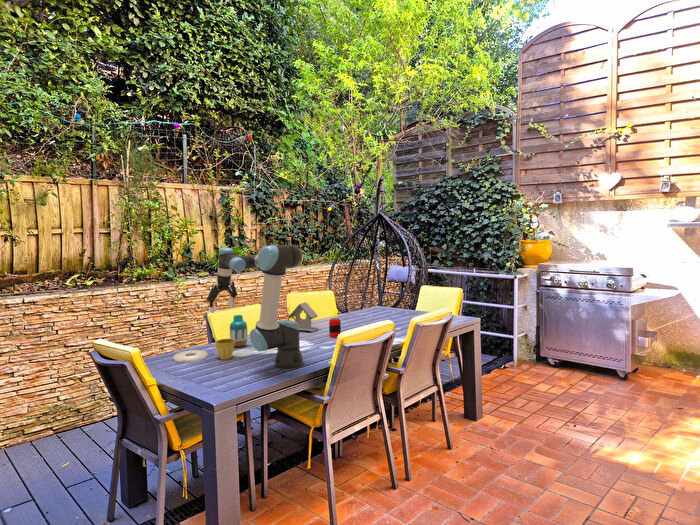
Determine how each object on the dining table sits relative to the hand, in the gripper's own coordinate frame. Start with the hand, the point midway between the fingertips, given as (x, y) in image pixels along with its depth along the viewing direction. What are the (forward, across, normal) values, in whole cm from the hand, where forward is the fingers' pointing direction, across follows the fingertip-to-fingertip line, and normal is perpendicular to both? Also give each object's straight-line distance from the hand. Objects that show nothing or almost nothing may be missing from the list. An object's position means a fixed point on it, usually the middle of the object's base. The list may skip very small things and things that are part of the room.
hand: (221, 309), depth 250 cm
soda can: (+21, -65, +39) cm, 78 cm away
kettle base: (+26, +17, -2) cm, 31 cm away
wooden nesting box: (+28, -67, +10) cm, 73 cm away
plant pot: (+23, +6, +14) cm, 28 cm away
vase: (+27, -15, +2) cm, 31 cm away
